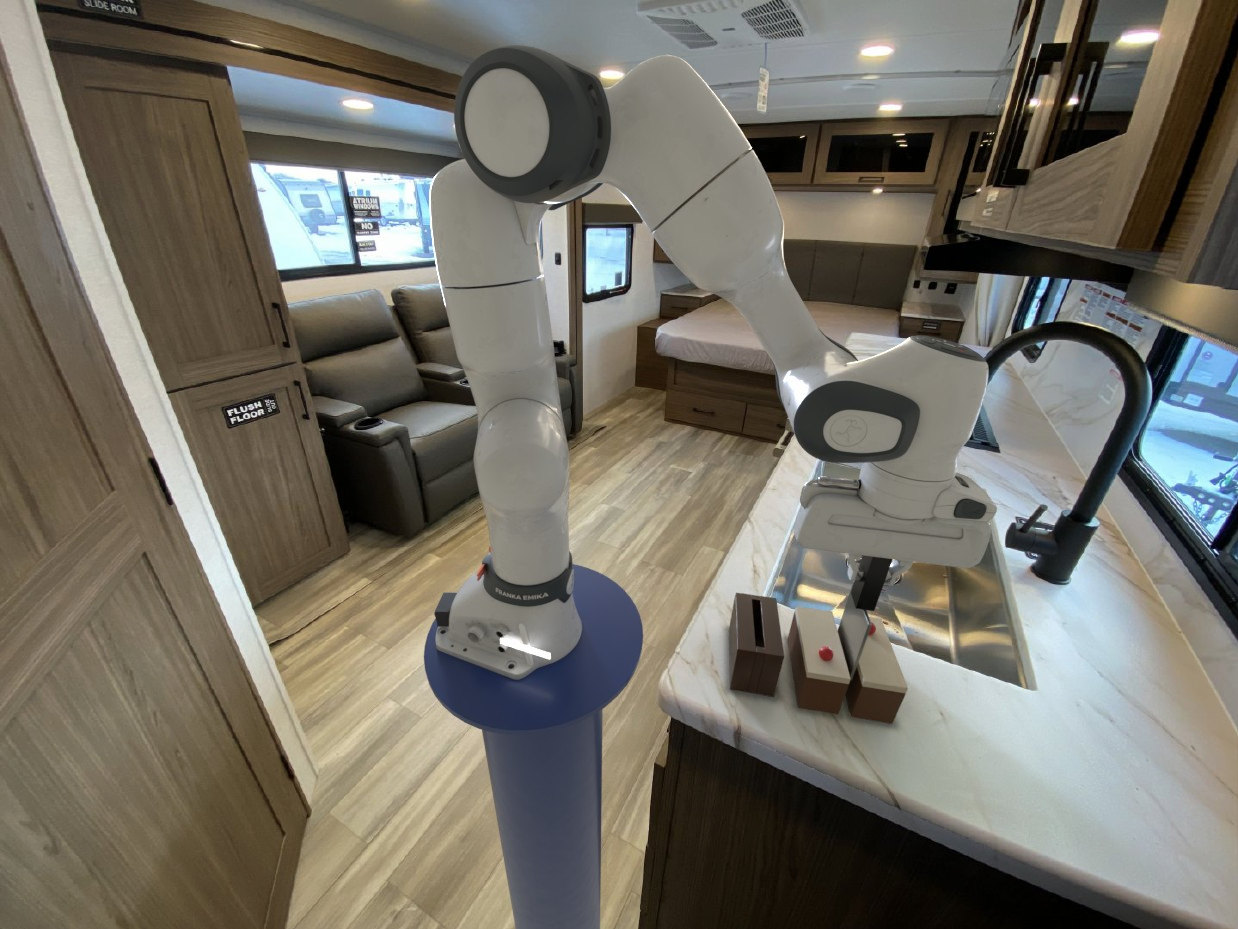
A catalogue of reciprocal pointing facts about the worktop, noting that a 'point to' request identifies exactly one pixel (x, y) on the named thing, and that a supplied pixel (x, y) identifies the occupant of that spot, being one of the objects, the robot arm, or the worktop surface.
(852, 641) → the knife
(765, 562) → the worktop surface
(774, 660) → the knife block
